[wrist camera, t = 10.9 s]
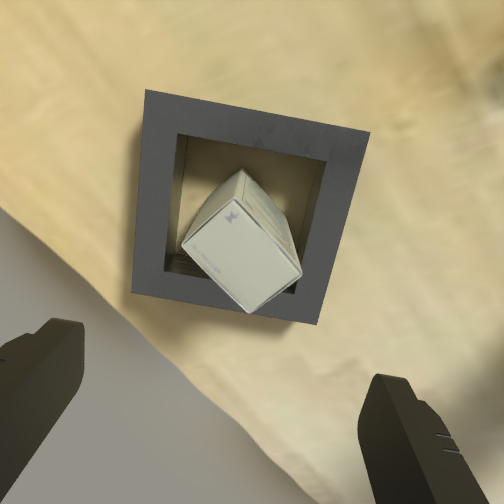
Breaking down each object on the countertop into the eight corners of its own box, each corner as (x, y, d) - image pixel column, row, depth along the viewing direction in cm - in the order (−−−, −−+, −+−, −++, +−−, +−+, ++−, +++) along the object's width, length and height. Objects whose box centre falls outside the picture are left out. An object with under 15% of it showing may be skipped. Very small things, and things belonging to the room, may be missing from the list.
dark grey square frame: (357, 130, 30) (370, 132, 26) (311, 302, 35) (316, 325, 31) (160, 92, 29) (145, 89, 25) (145, 273, 35) (131, 292, 31)
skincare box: (206, 197, 32) (173, 243, 21) (244, 163, 31) (232, 192, 19) (253, 249, 33) (247, 318, 22) (291, 218, 32) (305, 275, 21)
